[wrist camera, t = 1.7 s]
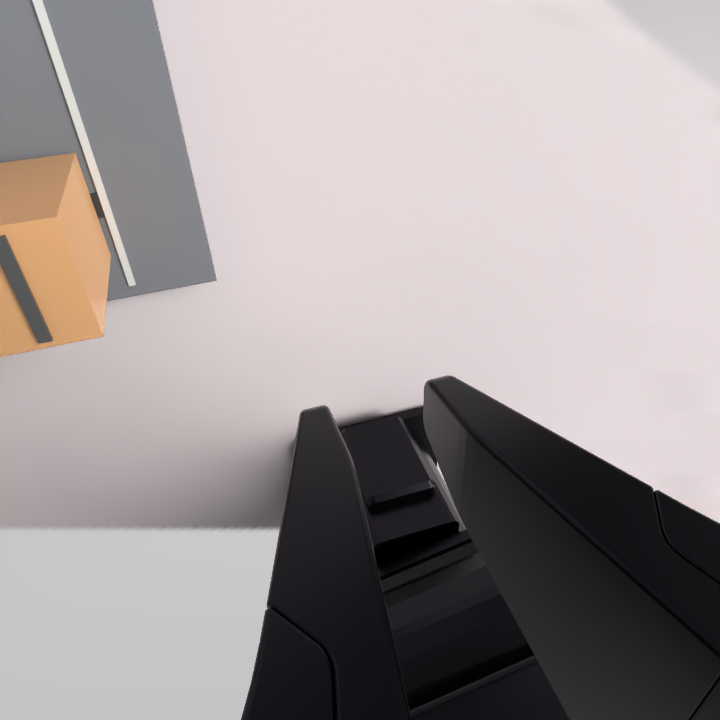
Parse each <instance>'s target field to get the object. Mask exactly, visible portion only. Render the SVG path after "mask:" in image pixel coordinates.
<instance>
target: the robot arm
mask: <svg viewBox="0 0 720 720" xmlns="http://www.w3.org/2000/svg"><path fill="white" fill-rule="evenodd" d="M437 462H438V464H439V467H440V469H441V472H442V474H443V477H444V479H445V482H446V484H447V486H446V484H445V482H444V480H443V478H442V476H441V475H440V473H439V471H438V469H437ZM267 608H268V609H267V610H266V611H265V616H264V622H263V627H262V632H261V638H260V643H259V648H258V653H257V657H256V662H255V667H254V671H253V676H252V681H251V685H250V689H249V692H248V696H247V700H246V703H245V707H244V711H243V715H242V718H241V720H720V523H718V522H716V521H714V520H712V519H711V518H709V517H707V516H705V515H703V514H701V513H699V512H697V511H695V510H694V509H692V508H690V507H688V506H686V505H684V504H682V503H681V502H679V501H677V500H675V499H673V498H672V497H670V496H668V495H666V494H664V493H663V492H661V491H659V490H655V491H653V488H652V487H651V486H650V485H648V484H646V483H644V482H642V481H641V480H639V479H637V478H635V477H633V476H632V475H630V474H628V473H626V472H624V471H623V470H621V469H619V468H617V467H615V466H614V465H612V464H610V463H608V462H606V461H605V460H603V459H601V458H599V457H597V456H596V455H594V454H592V453H590V452H588V451H587V450H585V449H583V448H581V447H579V446H578V445H576V444H574V443H572V442H570V441H569V440H567V439H565V438H563V437H561V436H560V435H558V434H556V433H554V432H552V431H551V430H549V429H547V428H545V427H543V426H542V425H540V424H538V423H536V422H534V421H533V420H531V419H529V418H527V417H525V416H524V415H522V414H520V413H518V412H516V411H515V410H513V409H511V408H509V407H507V406H506V405H504V404H502V403H500V402H499V401H497V400H495V399H493V398H491V397H490V396H488V395H486V394H484V393H482V392H481V391H479V390H477V389H475V388H473V387H472V386H470V385H468V384H466V383H464V382H463V381H461V380H459V379H457V378H455V377H453V376H443V377H439V378H435V379H431V380H428V381H427V382H426V383H425V386H424V407H423V408H419V409H415V410H411V411H407V412H403V413H399V414H395V415H391V416H387V417H383V418H379V419H375V420H371V421H367V422H363V423H359V424H355V425H351V426H347V427H343V428H339V429H338V427H337V424H336V422H335V420H334V418H333V416H332V414H331V411H330V409H329V408H328V407H327V406H325V405H322V406H318V407H314V408H310V409H305V410H303V411H302V412H301V413H300V417H299V423H298V428H297V434H296V440H295V446H294V451H293V457H292V463H291V468H290V474H289V480H288V486H287V491H286V497H285V503H284V509H283V514H282V520H281V526H280V532H279V537H278V543H277V549H276V555H275V560H274V566H273V572H272V577H271V583H270V589H269V595H268V601H267Z"/></svg>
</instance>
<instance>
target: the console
mask: <svg viewBox="0 0 720 720" xmlns="http://www.w3.org/2000/svg"><path fill="white" fill-rule="evenodd" d="M70 153H76V156H77V159H78V162H79V165H80V168H81V170H82V173H83V176H84V179H85V182H86V185H87V188H88V191H89V194H90V196H91V199H92V202H93V205H94V208H95V211H96V214H97V217H98V219H99V222H100V225H101V228H102V231H103V234H104V237H105V240H106V242H107V245H108V248H109V251H110V254H111V261H110V272H109V282H108V293H107V301H110V300H115V299H121V298H126V297H131V296H137V295H142V294H147V293H153V292H158V291H163V290H169V289H174V288H179V287H185V286H190V285H195V284H201V283H206V282H212V281H217V280H216V276H215V271H214V266H213V262H212V257H211V253H210V249H209V244H208V240H207V236H206V231H205V227H204V223H203V218H202V214H201V210H200V205H199V201H198V197H197V192H196V188H195V184H194V179H193V175H192V171H191V166H190V162H189V158H188V153H187V149H186V145H185V140H184V136H183V132H182V127H181V123H180V119H179V114H178V110H177V106H176V101H175V97H174V93H173V88H172V84H171V80H170V75H169V71H168V67H167V62H166V58H165V54H164V49H163V45H162V41H161V36H160V32H159V27H158V23H157V19H156V14H155V10H154V6H153V1H152V0H0V163H4V162H12V161H19V160H26V159H34V158H41V157H48V156H55V155H63V154H70Z"/></svg>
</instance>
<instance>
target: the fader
mask: <svg viewBox="0 0 720 720" xmlns="http://www.w3.org/2000/svg"><path fill="white" fill-rule="evenodd" d="M110 261H111V254H110V251H109V248H108V245H107V242H106V240H105V237H104V234H103V231H102V228H101V225H100V222H99V219H98V217H97V214H96V211H95V208H94V205H93V202H92V199H91V196H90V194H89V191H88V188H87V185H86V182H85V179H84V176H83V173H82V170H81V168H80V165H79V162H78V159H77V156H76V153H70V154H63V155H55V156H48V157H41V158H34V159H26V160H19V161H12V162H4V163H0V357H2V356H7V355H12V354H17V353H22V352H27V351H32V350H38V349H43V348H48V347H53V346H58V345H63V344H68V343H73V342H78V341H83V340H88V339H93V338H98V337H103V336H104V325H105V315H106V304H107V293H108V282H109V272H110Z"/></svg>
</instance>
